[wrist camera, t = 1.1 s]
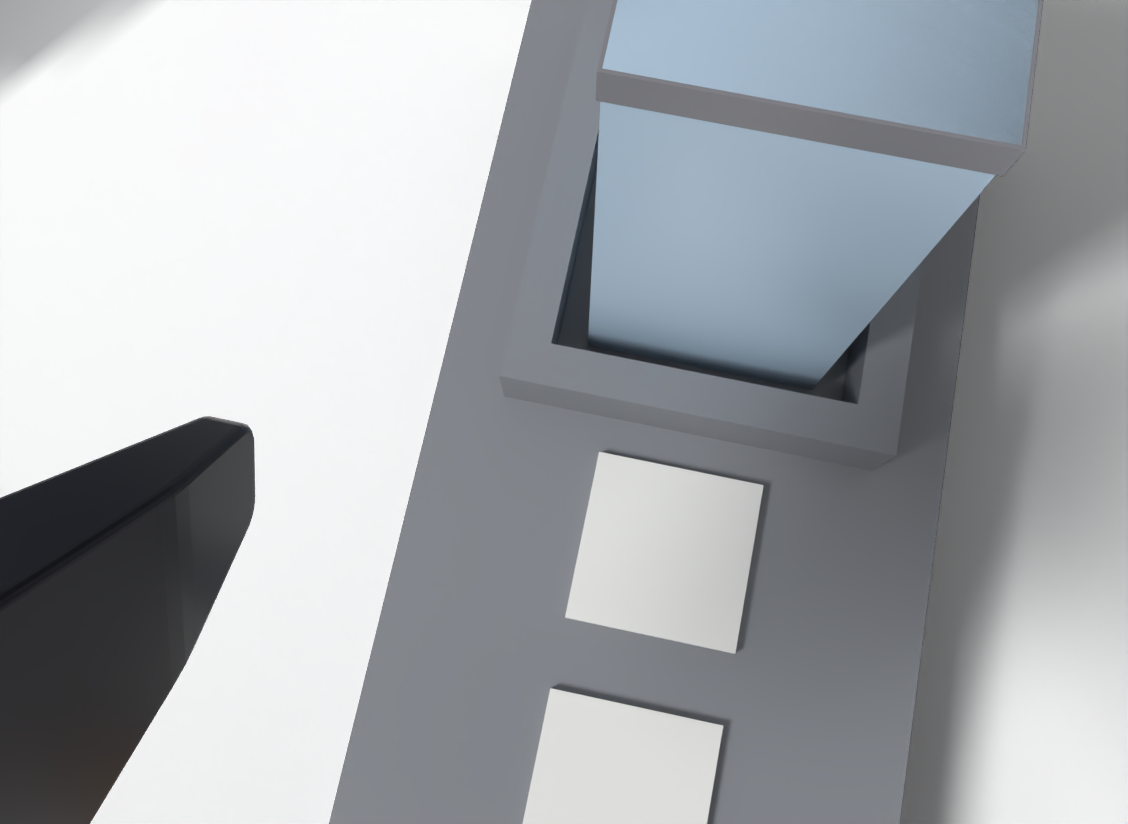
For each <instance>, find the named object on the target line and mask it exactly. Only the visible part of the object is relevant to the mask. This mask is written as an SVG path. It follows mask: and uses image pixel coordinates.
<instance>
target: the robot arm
mask: <svg viewBox="0 0 1128 824" xmlns="http://www.w3.org/2000/svg"><path fill="white" fill-rule="evenodd" d="M254 504H255V466H254V437H253V434H252V430H251V429H250V428H249V427H248V426H247V425H246V424H244V423H239V422H235V421H230V420H225V419H220V418H215V417H210V416H206V417H201V418H198V419H196V420H193V421H191V422H188V423H186V424H183V425H181V426H178V427H176V428H173V429H171V430H168V431H166V432H163V433H161V434H158V435H156V436H153V437H151V438H148V439H146V440H144V441H141V442H139V443H136V444H134V445H131V446H129V447H126V448H124V449H121V450H119V451H116V452H114V453H111V454H109V455H106V456H104V457H101V458H99V459H96V460H94V461H91V462H89V463H86V464H84V465H81V466H79V467H76V468H74V469H71V470H69V471H66V472H64V473H61V474H59V475H56V476H54V477H51V478H49V479H46V480H44V481H41V482H39V483H36V484H34V485H31V486H29V487H26V488H24V489H21V490H19V491H16V492H14V493H11V494H9V495H6V496H4V497H1V498H0V824H90V823H91V821H92V819H93V818H94V816H95V814H96V813H97V811H98V809H99V808H100V806H101V804H102V803H103V801H104V799H105V798H106V796H107V795H108V793H109V791H110V790H111V788H112V786H113V785H114V783H115V781H116V780H117V778H118V776H119V775H120V773H121V771H122V770H123V768H124V766H125V765H126V763H127V762H128V760H129V758H130V757H131V755H132V753H133V752H134V750H135V748H136V747H137V745H138V743H139V742H140V740H141V738H142V737H143V735H144V733H145V732H146V730H147V729H148V727H149V725H150V724H151V722H152V720H153V719H154V717H155V715H156V714H157V712H158V710H159V709H160V707H161V705H162V704H163V702H164V700H165V699H166V697H167V696H168V694H169V692H170V691H171V689H172V687H173V686H174V684H175V682H176V680H177V678H178V677H179V675H180V673H181V671H182V670H183V668H184V666H185V664H186V662H187V660H188V658H189V656H190V654H191V652H192V650H193V648H194V646H195V644H196V642H197V640H198V637H199V635H200V633H201V631H202V629H203V626H204V624H205V622H206V620H207V618H208V615H209V613H210V611H211V609H212V606H213V604H214V602H215V600H216V598H217V595H218V593H219V591H220V589H221V587H222V584H223V582H224V580H225V578H226V576H227V573H228V571H229V569H230V567H231V565H232V562H233V560H234V558H235V556H236V553H237V551H238V549H239V547H240V545H241V542H242V540H243V538H244V536H245V534H246V531H247V529H248V527H249V524H250V522H251V518H252V515H253V510H254Z"/></svg>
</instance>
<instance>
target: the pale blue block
mask: <svg viewBox="0 0 1128 824" xmlns="http://www.w3.org/2000/svg"><path fill="white" fill-rule="evenodd" d="M1042 6H1043V0H613V2H612V6H611V11H610V15H609V20H608V24H607V29H606V33H605V37H604V42H603V46H602V51H601V55H600V60H599V64H598V68H597V78H596V101H600V121H599V140H598V159H597V178H596V197H595V216H594V235H593V254H592V273H591V292H590V311H589V330H588V345H589V346H594V347H599V348H604V349H609V350H615V351H620V352H625V353H630V354H635V355H640V356H645V357H650V358H655V359H660V360H665V361H670V362H675V363H680V364H685V365H690V366H695V367H700V368H705V369H710V370H715V371H720V372H725V373H730V374H735V375H740V376H745V377H750V378H756V379H761V380H766V381H771V382H776V383H781V384H786V385H791V386H796V387H801V388H806V389H811V390H812V389H813V388H814V386H815V385H816V384H817V383H818V382H819V381H820V379H821V378H822V377H823V376H824V375H825V374H826V372H827V371H828V370H829V369H830V368H831V367H832V366H833V364H834V363H835V362H836V361H837V360H838V359H839V357H840V356H841V355H842V354H843V353H844V352H845V350H846V349H847V348H848V347H849V346H850V345H851V343H852V342H853V341H854V340H855V339H856V338H857V336H858V335H859V334H860V333H861V332H862V331H863V329H864V328H865V327H866V326H867V325H868V324H869V322H870V321H871V320H872V319H873V318H874V317H875V315H876V314H877V313H878V312H879V311H880V310H881V308H882V307H883V306H884V305H885V304H886V303H887V301H888V300H889V299H890V298H891V297H892V296H893V294H894V293H895V292H896V291H897V290H898V289H899V287H900V286H901V285H902V284H903V283H904V282H905V280H906V279H907V278H908V277H909V276H910V275H911V273H912V272H913V271H914V270H915V269H916V268H917V266H918V265H919V264H920V263H921V262H922V261H923V259H924V258H925V257H926V256H927V255H928V254H929V252H930V251H931V250H932V249H933V248H934V247H935V245H936V244H937V243H938V242H939V241H940V240H941V238H942V237H943V236H944V235H945V234H946V233H947V231H948V230H949V229H950V228H951V227H952V226H953V224H954V223H955V222H956V221H957V220H958V219H959V217H960V216H961V215H962V214H963V213H964V212H965V211H966V209H967V208H968V207H969V206H970V205H971V204H972V202H973V201H974V200H975V199H976V198H977V197H978V195H979V194H980V193H981V192H982V191H983V190H984V188H985V187H986V186H987V185H988V184H989V183H990V181H991V180H992V179H993V178H994V177H995V176H996V175H998V176H1004V175H1005V174H1006V172H1007V171H1008V170H1009V169H1010V168H1011V167H1012V166H1013V164H1014V163H1015V162H1016V161H1017V160H1018V159H1019V158H1020V156H1021V155H1022V154H1023V153H1024V152H1025V151H1026V143H1027V134H1028V126H1029V117H1030V109H1031V100H1032V92H1033V83H1034V75H1035V66H1036V57H1037V49H1038V40H1039V32H1040V23H1041V15H1042Z"/></svg>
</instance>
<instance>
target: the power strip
mask: <svg viewBox="0 0 1128 824" xmlns="http://www.w3.org/2000/svg"><path fill="white" fill-rule="evenodd" d="M612 2H613V0H532V1H531V5H530V10H529V14H528V18H527V22H526V26H525V30H524V34H523V38H522V42H521V46H520V50H519V54H518V58H517V62H516V66H515V70H514V75H513V79H512V83H511V87H510V91H509V95H508V99H507V103H506V107H505V111H504V115H503V119H502V123H501V127H500V131H499V135H498V139H497V144H496V148H495V152H494V156H493V160H492V164H491V168H490V172H489V176H488V180H487V184H486V188H485V192H484V196H483V200H482V204H481V209H480V213H479V217H478V221H477V225H476V229H475V233H474V237H473V241H472V245H471V249H470V253H469V257H468V261H467V265H466V269H465V274H464V278H463V282H462V286H461V290H460V294H459V298H458V302H457V306H456V310H455V314H454V318H453V322H452V326H451V330H450V334H449V338H448V343H447V347H446V351H445V355H444V359H443V363H442V367H441V371H440V375H439V379H438V383H437V387H436V391H435V395H434V399H433V403H432V408H431V412H430V416H429V420H428V424H427V428H426V432H425V436H424V440H423V444H422V448H421V452H420V456H419V460H418V464H417V468H416V472H415V477H414V481H413V485H412V489H411V493H410V497H409V501H408V505H407V509H406V513H405V517H404V521H403V525H402V529H401V533H400V537H399V542H398V546H397V550H396V554H395V558H394V562H393V566H392V570H391V574H390V578H389V582H388V586H387V590H386V594H385V598H384V602H383V607H382V611H381V615H380V619H379V623H378V627H377V631H376V635H375V639H374V643H373V647H372V651H371V655H370V659H369V663H368V667H367V671H366V676H365V680H364V684H363V688H362V692H361V696H360V700H359V704H358V708H357V712H356V716H355V720H354V724H353V728H352V732H351V736H350V741H349V745H348V749H347V753H346V757H345V761H344V765H343V769H342V773H341V777H340V781H339V785H338V789H337V793H336V797H335V801H334V805H333V810H332V814H331V818H330V822H329V824H900V817H901V809H902V801H903V794H904V786H905V778H906V770H907V762H908V754H909V746H910V739H911V731H912V723H913V715H914V707H915V699H916V691H917V684H918V676H919V668H920V660H921V652H922V644H923V636H924V629H925V621H926V613H927V605H928V597H929V589H930V581H931V573H932V566H933V558H934V550H935V542H936V534H937V526H938V518H939V511H940V503H941V495H942V487H943V479H944V471H945V463H946V456H947V448H948V440H949V432H950V424H951V416H952V408H953V401H954V393H955V385H956V377H957V369H958V361H959V353H960V345H961V338H962V330H963V322H964V314H965V306H966V298H967V290H968V283H969V275H970V267H971V259H972V251H973V243H974V235H975V228H976V220H977V212H978V204H979V196H980V194H979V195H978V197H977V198H976V199H975V200H974V201H973V202H972V204H971V205H970V206H969V207H968V208H967V209H966V211H965V212H964V213H963V214H962V215H961V216H960V217H959V219H958V220H957V221H956V222H955V223H954V224H953V226H952V227H951V228H950V229H949V230H948V231H947V233H946V234H945V235H944V236H943V237H942V238H941V240H940V241H939V242H938V243H937V244H936V245H935V247H934V248H933V249H932V250H931V251H930V252H929V254H928V255H927V256H926V257H925V258H924V259H923V261H922V262H921V263H920V264H919V265H918V266H917V268H916V269H915V270H914V271H913V272H912V273H911V275H910V276H909V277H908V278H907V279H906V280H905V282H904V283H903V284H902V285H901V286H900V287H899V289H898V290H897V291H896V292H895V293H894V294H893V296H892V297H891V298H890V299H889V300H888V301H887V303H886V304H885V305H884V306H883V307H882V308H881V310H880V311H879V312H878V313H877V314H876V315H875V317H874V318H873V319H872V320H871V321H870V322H869V324H868V325H867V326H866V327H865V328H864V329H863V331H862V332H861V333H860V334H859V335H858V336H857V338H856V339H855V340H854V341H853V342H852V343H851V345H850V346H849V347H848V348H847V349H846V350H845V352H844V353H843V354H842V355H841V356H840V357H839V359H838V360H837V361H836V362H835V363H834V364H833V366H832V367H831V368H830V369H829V370H828V371H827V372H826V374H825V375H824V376H823V377H822V378H821V379H820V381H819V382H818V383H817V384H816V385H815V386H814V388H813V389H812V390H811V389H806V388H801V387H796V386H791V385H786V384H781V383H776V382H771V381H766V380H761V379H756V378H750V377H745V376H740V375H735V374H730V373H725V372H720V371H715V370H710V369H705V368H700V367H695V366H690V365H685V364H680V363H675V362H670V361H665V360H660V359H655V358H650V357H645V356H640V355H635V354H630V353H625V352H620V351H615V350H609V349H604V348H599V347H594V346H589V345H588V330H589V311H590V292H591V273H592V254H593V235H594V216H595V197H596V178H597V159H598V140H599V121H600V101H596V78H597V68H598V64H599V60H600V55H601V51H602V46H603V42H604V37H605V33H606V29H607V24H608V20H609V15H610V11H611V6H612Z"/></svg>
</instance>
